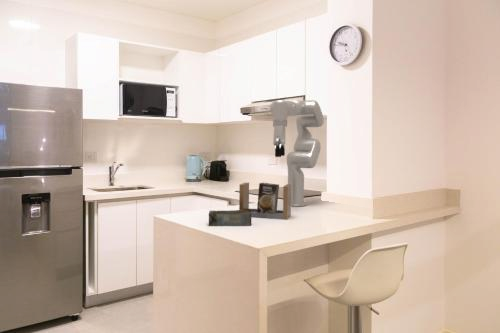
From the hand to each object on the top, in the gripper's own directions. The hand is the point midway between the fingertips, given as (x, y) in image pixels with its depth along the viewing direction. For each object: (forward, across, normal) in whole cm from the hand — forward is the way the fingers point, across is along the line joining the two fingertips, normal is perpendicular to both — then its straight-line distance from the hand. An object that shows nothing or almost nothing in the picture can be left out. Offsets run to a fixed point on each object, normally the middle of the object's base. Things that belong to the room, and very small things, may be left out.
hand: (279, 156), depth 221 cm
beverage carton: (+29, +42, -15) cm, 53 cm away
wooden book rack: (+29, +17, -4) cm, 34 cm away
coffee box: (+29, +17, -3) cm, 34 cm away
